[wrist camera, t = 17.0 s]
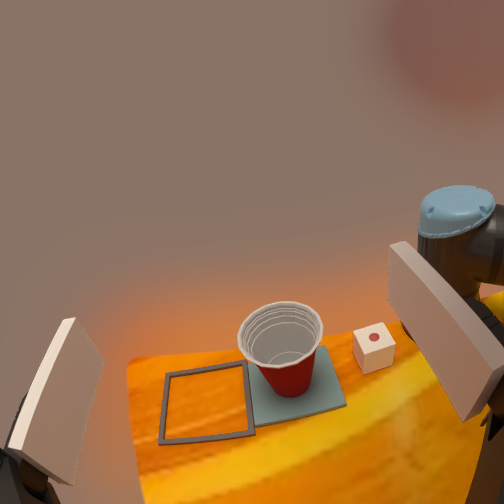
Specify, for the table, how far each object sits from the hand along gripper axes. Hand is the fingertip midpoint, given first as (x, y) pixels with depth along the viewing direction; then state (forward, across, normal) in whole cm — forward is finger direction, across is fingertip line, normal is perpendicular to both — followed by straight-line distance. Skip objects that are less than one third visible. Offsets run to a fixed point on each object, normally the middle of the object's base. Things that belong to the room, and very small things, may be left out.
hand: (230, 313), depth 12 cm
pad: (+19, +2, -32) cm, 37 cm away
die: (+20, +15, -32) cm, 40 cm away
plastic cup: (+19, +2, -31) cm, 37 cm away
